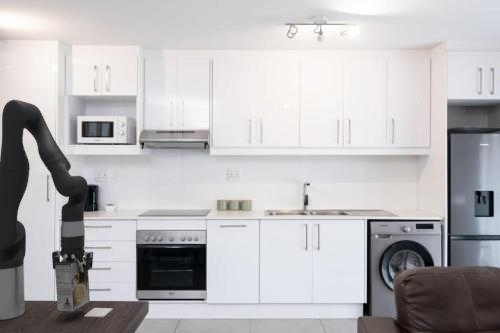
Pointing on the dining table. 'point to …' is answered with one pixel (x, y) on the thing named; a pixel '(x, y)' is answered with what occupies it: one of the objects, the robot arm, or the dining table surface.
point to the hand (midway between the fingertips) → (72, 281)
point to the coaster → (98, 312)
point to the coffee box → (70, 286)
